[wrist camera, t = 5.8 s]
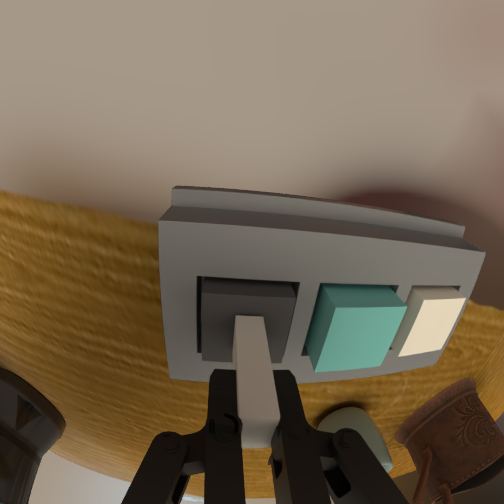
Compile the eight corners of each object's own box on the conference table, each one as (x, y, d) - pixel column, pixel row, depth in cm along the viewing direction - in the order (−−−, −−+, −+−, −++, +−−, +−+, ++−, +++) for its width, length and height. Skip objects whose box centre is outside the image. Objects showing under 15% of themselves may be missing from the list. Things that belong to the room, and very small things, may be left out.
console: (178, 349, 22) (171, 387, 18) (176, 185, 17) (158, 199, 13) (411, 345, 25) (430, 372, 21) (457, 222, 20) (489, 239, 15)
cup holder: (434, 433, 39) (471, 512, 16) (352, 451, 35) (386, 564, 12) (488, 373, 32) (544, 456, 9) (419, 382, 28) (492, 521, 5)
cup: (298, 422, 28) (313, 490, 19) (351, 390, 27) (380, 460, 18) (329, 435, 31) (346, 492, 22) (376, 408, 29) (401, 465, 20)
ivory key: (382, 333, 20) (397, 356, 17) (402, 279, 18) (424, 300, 15) (424, 329, 20) (440, 349, 18) (444, 280, 18) (465, 298, 16)
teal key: (304, 342, 18) (314, 372, 16) (320, 280, 17) (335, 307, 14) (364, 340, 19) (380, 366, 16) (385, 283, 17) (407, 306, 14)
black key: (204, 331, 19) (201, 360, 16) (206, 267, 17) (201, 292, 14) (275, 334, 19) (281, 363, 16) (286, 272, 17) (296, 297, 14)
